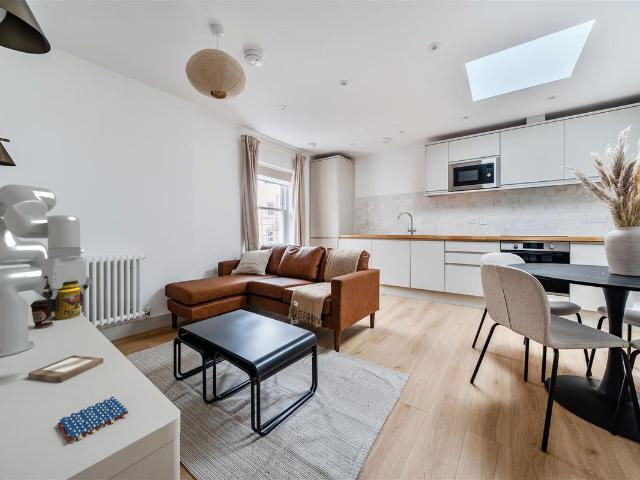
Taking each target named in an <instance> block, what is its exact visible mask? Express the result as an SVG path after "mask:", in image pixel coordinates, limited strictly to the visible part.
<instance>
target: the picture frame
mask: <svg viewBox="0 0 640 480" xmlns="http://www.w3.org/2000/svg"><path fill="white" fill-rule="evenodd" d="M102 364H104V358H103V357H94V356H85V355H74V354H73V355H70V356H68V357H65V358H63V359H61V360H58V361H56V362H52V363H50V364H48V365H45V366H43V367H40V368H38V369H36V370H33V371H30V372H28V375H27V376H28V379H34V380H41V381H47V382H56V383H63V382H65V381H67V380H69V379H71V378H73V377H76V376H78V375H80V374H82V373H85V372H87V371H88V370H91V369H93V368H96V367H97V366H99V365H102Z"/></svg>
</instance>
